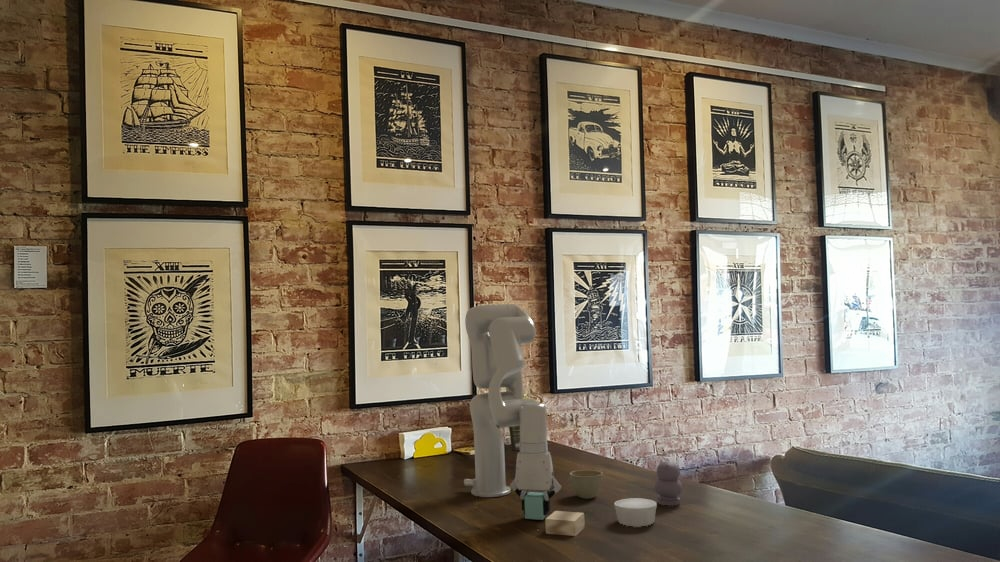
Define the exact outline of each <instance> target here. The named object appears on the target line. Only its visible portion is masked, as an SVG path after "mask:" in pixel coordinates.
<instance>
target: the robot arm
mask: <svg viewBox="0 0 1000 562" xmlns="http://www.w3.org/2000/svg"><path fill="white" fill-rule="evenodd" d="M464 319H465V320H464V321H465V322H464V323H465V329H466V334H467V336H468V339H469V343H470V349H471V366H472V367H471V368H472V377H473V383H474V385H475V387H476V388H478V389H482V390H483V389H484V390H485V389H486V390H487V389H488V392H483V393H479V394H476V395H474V396H473V397H472V399H471V400H470V402H469V412H470V415H471V417H470V418H471V423H472V429H473V443H474V444H473V445H474V466H475V467H474V468H475V473H474V474H475V478H473V479H470V478H464V480H463V485H464V486H465V487H472V488H471V491H470V492H471V493H470V494H471V495H472V496H475V497H478V496H479V497H478V498H497V497H503V496H507V495H509V494H510V493H511V489H512V491H513V492H514V493H515V494H517V496H518V497H519V499H520V500H521V511H523V514H524V515H525V499H524V497H525V496H526V495H527V494H528V493H529V491H533V492H537V491H538V492H541V493H543V495H544V501H543V512H544V515H546V516H548V514H549V513H550V511H551V498H552V497H553V496H554V495H555V494H557V493H558V492H559V491H561V489H562V485H561V484H560V483H559V482H558V480H557V479H556V478H555V476H554V467H553V460H552V455H551V452H550V451H549V450H548V427H547V426H548V423H547V407H546V405H545V404H544V403H542V402H538V401H537V399H534V398H524V386H523V384H524V383H523V382H524V381H523V371H522V370H523V369H524V367H525V366H526V365H525V363H526V361H525V357H524V353H523V351H522V346H521V345H525V344H531V343H534V341H535V339H536V335H537V332H536V331H537V330H536V327H535V326H536V325H535V323H534V321H533V319H532V318H531V317H530V315H528V314H527V313H526V312H525V311H524V310H523V309H522V307H520V306H519V305H516V304H484V305H483V304H481V305H475V306H473V307H471V308H469V309H468V310H467V312H466V314H465V318H464ZM501 388H505V391H501ZM499 427H500V428H511V427H519V442H515V446H514V447H515V448H516V449H519V452H517V455H516V461H515V462H516V463H515V477H514V479H513V480H512V482H510V484H509V486H508V485H507V482H506V461H505V460H506V458H505V438H504V435H503V432H502V431H501V429H500V428H499ZM552 487H553V489H551V488H552ZM550 489H551V490H550Z"/></svg>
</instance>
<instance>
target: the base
mask: <svg viewBox="0 0 1000 562" xmlns="http://www.w3.org/2000/svg"><path fill="white" fill-rule="evenodd" d="M544 519H545V521H544V522H545V534H548V535H560V536H569V537H570V536H571V537H572V536H573V537H576V536H577V535H578V534H579V533H581V531H582V530H584V529H585V526H586V524H585V513H584V512H578V511H576V512H574V511H564V510H563V511H562V510H555V511H553V512H552V513H551V514H550V515H547V516H546V517H545V518H544Z"/></svg>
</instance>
